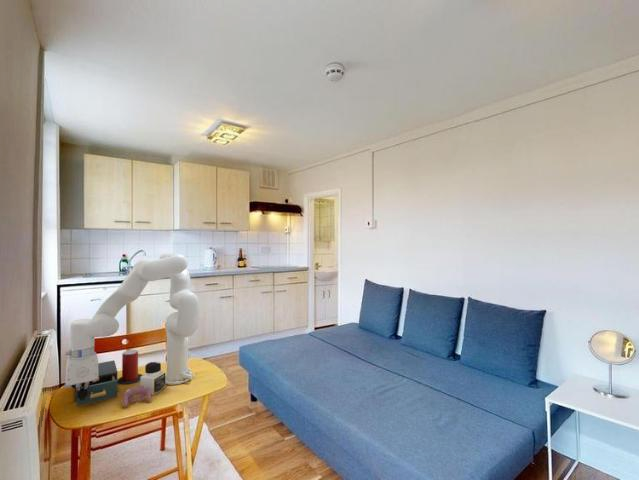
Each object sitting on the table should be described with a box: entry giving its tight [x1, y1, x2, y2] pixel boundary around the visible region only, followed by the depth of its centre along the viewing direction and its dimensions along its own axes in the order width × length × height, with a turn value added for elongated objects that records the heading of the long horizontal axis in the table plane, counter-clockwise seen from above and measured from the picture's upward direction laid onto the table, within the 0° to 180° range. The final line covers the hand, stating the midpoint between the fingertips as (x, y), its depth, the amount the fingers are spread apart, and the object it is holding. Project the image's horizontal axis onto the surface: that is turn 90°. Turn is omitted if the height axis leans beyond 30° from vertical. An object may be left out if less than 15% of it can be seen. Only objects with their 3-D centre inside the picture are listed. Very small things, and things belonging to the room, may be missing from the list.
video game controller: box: [122, 385, 152, 409], centre depth 130 cm, size 10×5×7 cm, turn 123°
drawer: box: [76, 374, 118, 407], centre depth 132 cm, size 19×13×7 cm
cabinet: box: [74, 359, 119, 402], centre depth 140 cm, size 16×15×9 cm
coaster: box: [117, 373, 144, 386], centre depth 150 cm, size 10×10×1 cm
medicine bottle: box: [139, 361, 166, 396], centre depth 140 cm, size 7×7×12 cm
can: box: [121, 349, 139, 382], centre depth 150 cm, size 6×6×13 cm
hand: (82, 398), depth 124 cm, fingers closed
